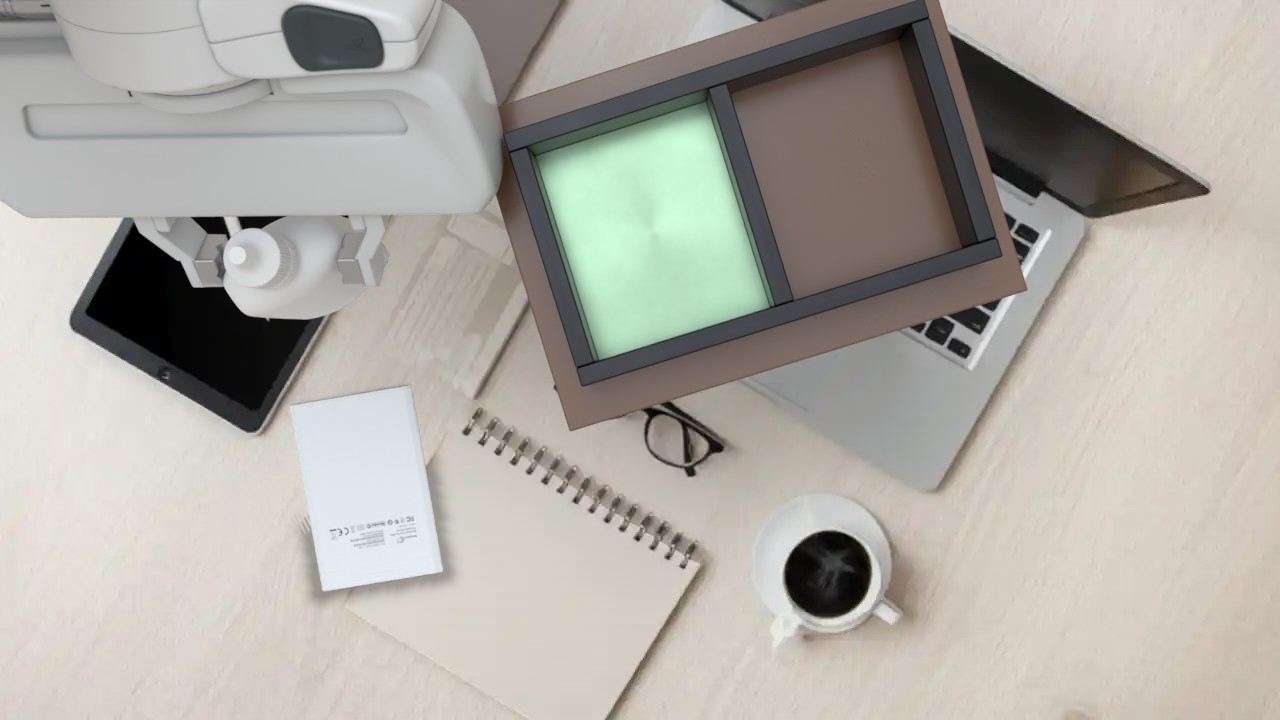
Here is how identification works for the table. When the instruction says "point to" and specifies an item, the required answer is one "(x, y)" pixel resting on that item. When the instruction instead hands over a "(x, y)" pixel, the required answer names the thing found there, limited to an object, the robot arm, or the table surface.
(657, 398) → the brown compartment tray
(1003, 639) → the table surface
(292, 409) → the hard drive
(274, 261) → the eye dropper bottle
